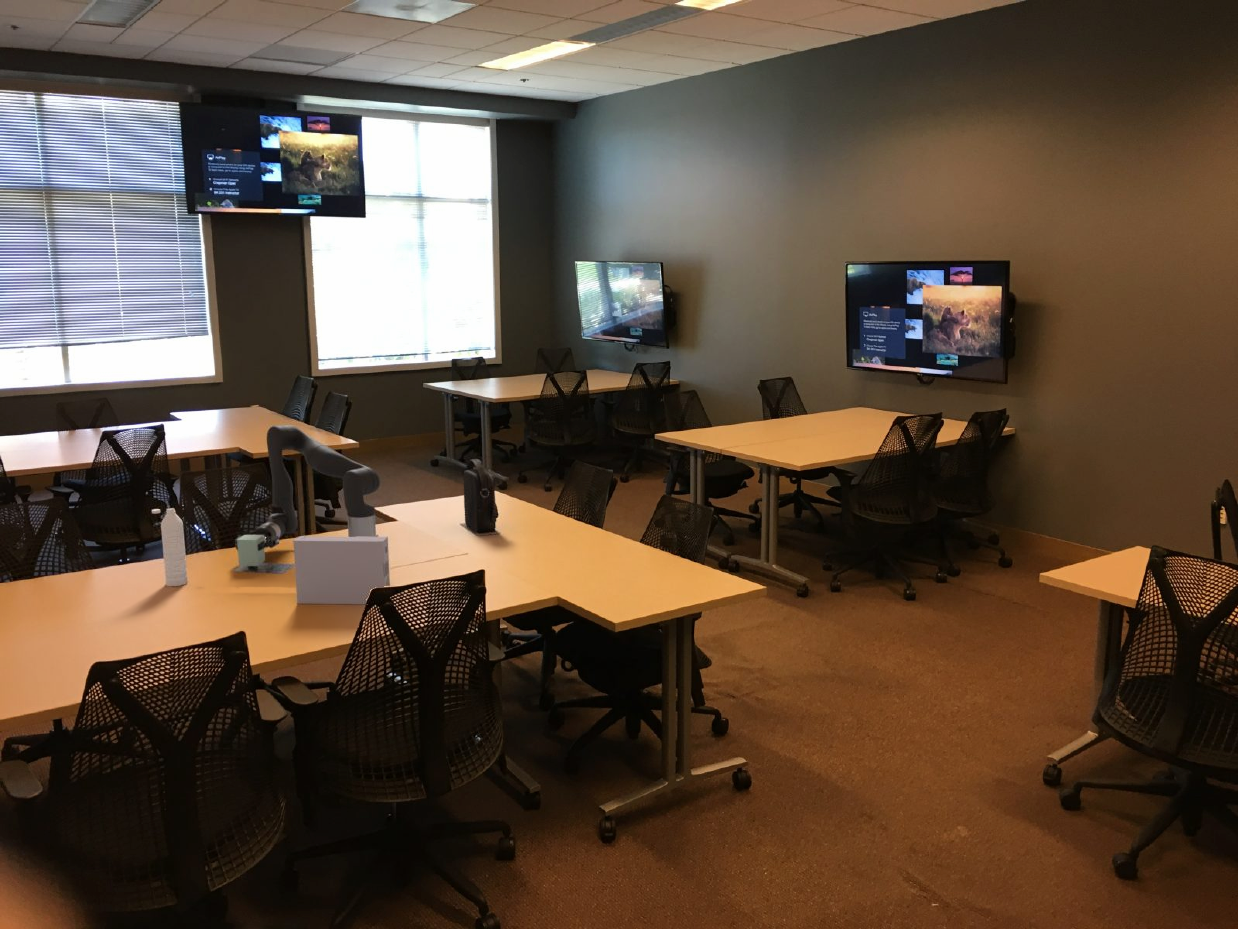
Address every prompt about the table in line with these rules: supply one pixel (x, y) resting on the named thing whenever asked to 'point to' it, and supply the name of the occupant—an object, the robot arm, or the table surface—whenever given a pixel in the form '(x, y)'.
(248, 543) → the pale green block
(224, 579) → the table surface
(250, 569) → the post stand
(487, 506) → the shoulder bag
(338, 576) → the game console
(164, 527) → the water bottle
